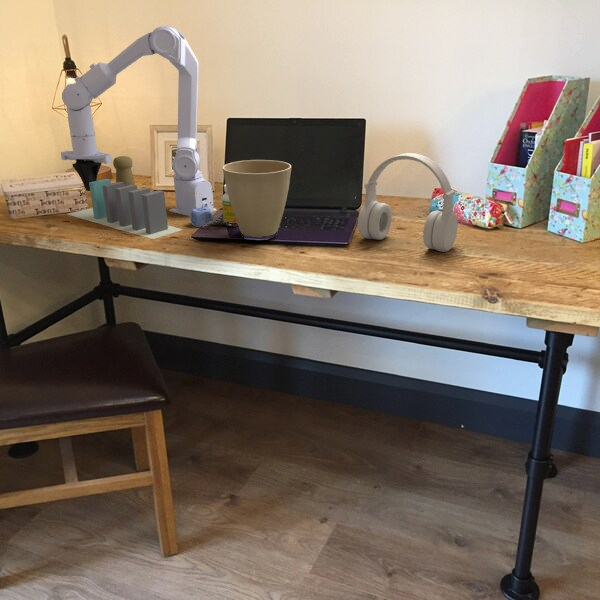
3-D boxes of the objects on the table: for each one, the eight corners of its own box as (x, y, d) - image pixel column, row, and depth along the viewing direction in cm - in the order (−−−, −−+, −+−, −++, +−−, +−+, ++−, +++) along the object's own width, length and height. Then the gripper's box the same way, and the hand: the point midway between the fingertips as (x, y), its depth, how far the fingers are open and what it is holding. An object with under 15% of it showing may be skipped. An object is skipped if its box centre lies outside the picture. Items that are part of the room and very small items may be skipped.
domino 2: (128, 218, 164) (124, 182, 160) (111, 223, 160) (106, 186, 157) (124, 217, 165) (119, 181, 161) (107, 222, 161) (102, 185, 158)
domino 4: (154, 225, 158) (150, 188, 154) (137, 230, 154) (132, 192, 151) (149, 224, 159) (145, 187, 155) (132, 229, 155) (128, 191, 152)
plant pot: (279, 249, 140) (277, 175, 134) (215, 243, 145) (210, 171, 139) (301, 229, 153) (300, 160, 147) (242, 224, 158) (239, 157, 152)
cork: (131, 192, 190) (127, 153, 186) (141, 196, 186) (137, 156, 181) (112, 195, 186) (107, 156, 182) (121, 199, 182) (116, 159, 178)
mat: (183, 230, 154) (183, 229, 154) (152, 240, 148) (152, 239, 148) (97, 207, 175) (97, 206, 175) (66, 215, 169) (66, 214, 168)
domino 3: (141, 221, 161) (137, 185, 157) (124, 226, 157) (119, 189, 154) (136, 220, 162) (132, 184, 158) (119, 225, 158) (114, 188, 155)
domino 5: (168, 229, 155) (164, 191, 151) (150, 234, 151) (146, 195, 148) (163, 227, 156) (159, 190, 152) (146, 233, 152) (141, 194, 149)
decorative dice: (199, 229, 155) (197, 212, 154) (190, 225, 158) (189, 209, 157) (213, 226, 158) (212, 209, 156) (205, 222, 161) (203, 206, 159)
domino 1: (115, 214, 167) (110, 179, 163) (98, 219, 163) (93, 183, 160) (111, 213, 168) (106, 178, 164) (94, 218, 164) (89, 182, 161)
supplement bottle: (220, 227, 156) (217, 187, 152) (228, 221, 161) (225, 181, 157) (242, 229, 155) (240, 188, 151) (249, 222, 160) (247, 182, 156)
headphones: (355, 242, 144) (357, 153, 137) (373, 232, 151) (376, 146, 143) (442, 257, 134) (448, 162, 127) (457, 246, 141) (464, 155, 133)
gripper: (117, 134, 161) (124, 189, 166) (72, 131, 167) (80, 184, 172) (97, 138, 155) (105, 195, 161) (51, 135, 161) (60, 190, 167)
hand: (90, 190), depth 166 cm, fingers closed
